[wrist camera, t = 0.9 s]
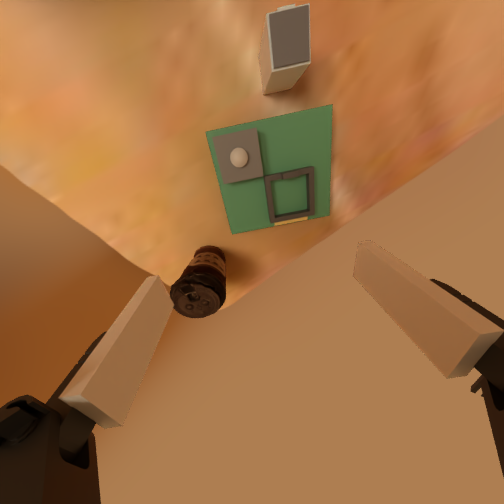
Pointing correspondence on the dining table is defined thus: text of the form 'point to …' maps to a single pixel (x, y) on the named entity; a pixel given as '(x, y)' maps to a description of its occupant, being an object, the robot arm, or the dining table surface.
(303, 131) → the board
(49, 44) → the dining table surface
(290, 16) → the plug
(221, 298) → the coffee cup
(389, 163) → the dining table surface
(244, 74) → the dining table surface
